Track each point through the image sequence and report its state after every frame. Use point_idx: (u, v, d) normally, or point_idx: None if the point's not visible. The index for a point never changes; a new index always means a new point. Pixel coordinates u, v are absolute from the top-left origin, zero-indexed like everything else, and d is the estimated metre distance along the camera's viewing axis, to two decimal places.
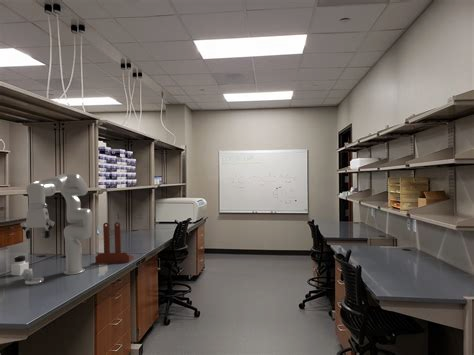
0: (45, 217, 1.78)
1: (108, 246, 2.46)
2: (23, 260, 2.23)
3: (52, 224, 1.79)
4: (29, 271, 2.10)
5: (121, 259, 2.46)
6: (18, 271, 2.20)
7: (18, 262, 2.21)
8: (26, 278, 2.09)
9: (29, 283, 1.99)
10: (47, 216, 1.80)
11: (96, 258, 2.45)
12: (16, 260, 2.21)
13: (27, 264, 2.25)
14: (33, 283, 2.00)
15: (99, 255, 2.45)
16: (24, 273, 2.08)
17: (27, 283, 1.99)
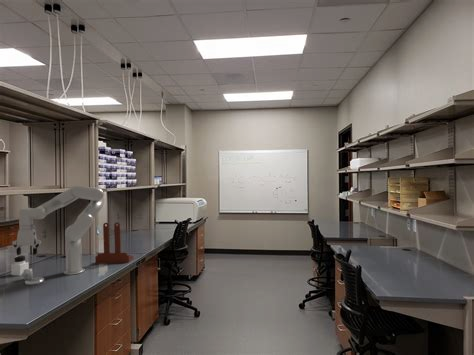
0: (33, 237, 2.10)
1: (108, 246, 2.46)
2: (23, 260, 2.23)
3: (39, 242, 2.11)
4: (29, 271, 2.10)
5: (121, 259, 2.46)
6: (18, 271, 2.20)
7: (18, 262, 2.21)
8: (26, 278, 2.09)
9: (29, 283, 1.99)
10: (35, 236, 2.12)
11: (96, 258, 2.45)
12: (16, 260, 2.21)
13: (27, 264, 2.25)
14: (33, 283, 2.00)
15: (99, 255, 2.45)
16: (24, 273, 2.08)
17: (27, 283, 1.99)
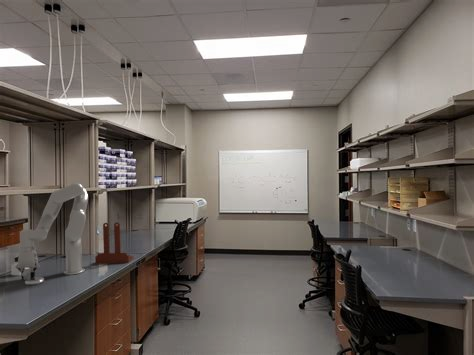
0: (34, 258, 2.10)
1: (108, 246, 2.46)
2: None
3: (37, 267, 2.11)
4: (29, 271, 2.10)
5: (121, 259, 2.46)
6: (18, 271, 2.20)
7: None
8: (26, 278, 2.09)
9: (29, 283, 1.99)
10: (36, 257, 2.12)
11: (96, 258, 2.45)
12: (16, 260, 2.21)
13: None
14: (33, 283, 2.00)
15: (99, 255, 2.45)
16: (24, 273, 2.08)
17: (27, 283, 1.99)
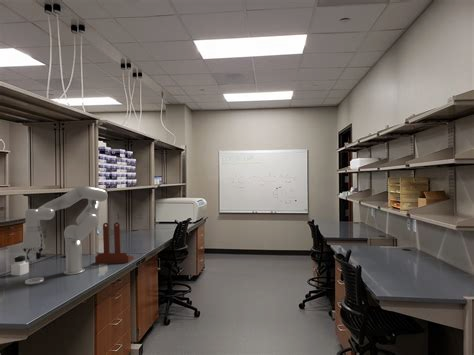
0: (40, 239, 2.03)
1: (108, 246, 2.46)
2: (23, 260, 2.23)
3: (43, 247, 2.04)
4: (35, 252, 2.02)
5: (120, 259, 2.45)
6: (18, 271, 2.20)
7: (18, 262, 2.21)
8: (32, 259, 2.02)
9: (29, 283, 1.99)
10: (42, 238, 2.05)
11: (96, 258, 2.45)
12: (16, 260, 2.21)
13: (27, 264, 2.25)
14: (33, 283, 2.00)
15: (99, 255, 2.45)
16: (30, 254, 2.00)
17: (27, 283, 1.99)
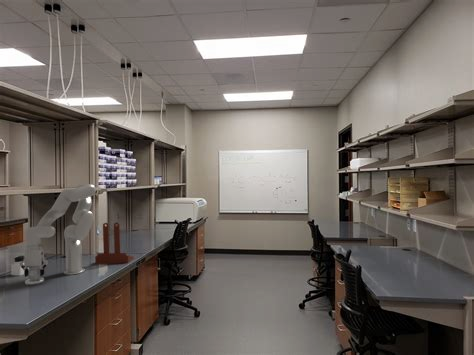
0: (40, 257, 2.03)
1: (108, 246, 2.46)
2: None
3: (46, 263, 2.04)
4: (36, 271, 2.03)
5: (120, 259, 2.45)
6: (18, 271, 2.20)
7: (18, 262, 2.21)
8: (32, 279, 2.02)
9: (29, 283, 1.99)
10: (42, 256, 2.05)
11: (96, 258, 2.45)
12: (16, 260, 2.21)
13: None
14: (33, 283, 2.00)
15: (99, 255, 2.45)
16: (30, 274, 2.00)
17: (27, 283, 1.99)
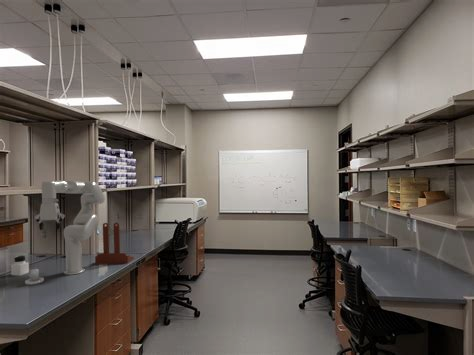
0: (56, 211, 2.02)
1: (107, 246, 2.46)
2: (23, 260, 2.23)
3: (62, 217, 2.03)
4: (36, 271, 2.03)
5: (120, 260, 2.45)
6: (18, 271, 2.20)
7: (18, 262, 2.21)
8: (32, 279, 2.02)
9: (29, 283, 1.99)
10: (58, 210, 2.03)
11: (96, 258, 2.45)
12: (16, 260, 2.21)
13: (27, 264, 2.25)
14: (33, 283, 2.00)
15: (99, 255, 2.45)
16: (30, 273, 2.00)
17: (27, 283, 1.99)
